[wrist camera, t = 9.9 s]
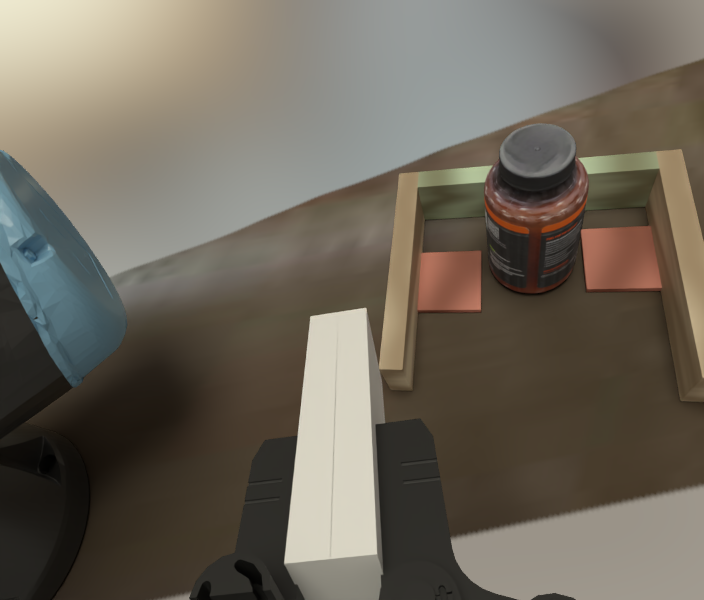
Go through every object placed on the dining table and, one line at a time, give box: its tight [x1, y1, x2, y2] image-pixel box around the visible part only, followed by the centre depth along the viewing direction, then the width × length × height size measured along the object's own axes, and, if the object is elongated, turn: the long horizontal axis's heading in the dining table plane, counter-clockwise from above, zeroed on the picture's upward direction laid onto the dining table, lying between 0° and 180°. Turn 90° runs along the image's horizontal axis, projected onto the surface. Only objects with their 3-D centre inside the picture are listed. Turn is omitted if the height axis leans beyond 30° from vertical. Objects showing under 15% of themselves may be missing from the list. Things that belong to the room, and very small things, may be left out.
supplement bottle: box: [484, 124, 589, 293], centre depth 32 cm, size 6×6×11 cm
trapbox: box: [379, 149, 704, 402], centre depth 34 cm, size 19×16×4 cm
